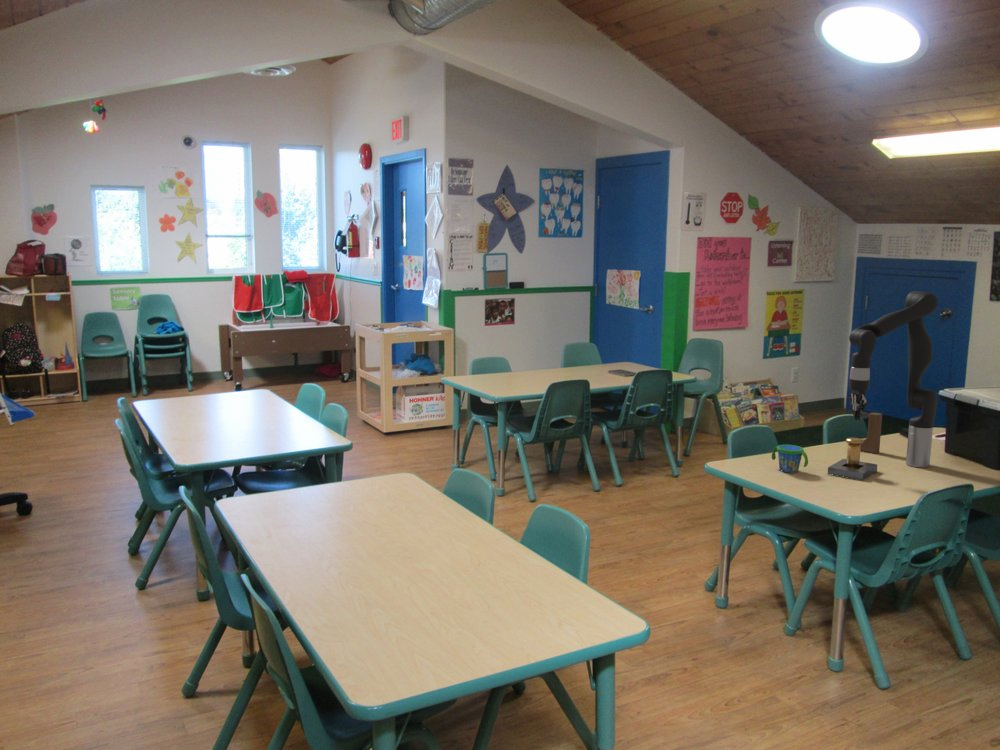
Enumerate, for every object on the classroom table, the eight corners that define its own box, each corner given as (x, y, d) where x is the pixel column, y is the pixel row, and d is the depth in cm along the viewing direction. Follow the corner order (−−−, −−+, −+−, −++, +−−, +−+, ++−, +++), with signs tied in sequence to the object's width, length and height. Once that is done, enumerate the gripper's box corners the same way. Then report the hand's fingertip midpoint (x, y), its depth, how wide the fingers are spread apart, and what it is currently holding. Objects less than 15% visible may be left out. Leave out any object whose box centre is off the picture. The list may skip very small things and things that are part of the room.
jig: (842, 465, 364) (843, 458, 363) (876, 471, 355) (877, 464, 354) (827, 474, 350) (828, 467, 350) (862, 480, 341) (863, 473, 341)
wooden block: (855, 450, 389) (858, 412, 386) (859, 448, 392) (862, 410, 389) (876, 453, 383) (879, 415, 380) (879, 452, 386) (882, 413, 383)
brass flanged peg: (846, 469, 357) (849, 436, 355) (863, 472, 353) (865, 439, 350) (841, 472, 352) (843, 439, 350) (857, 475, 348) (860, 442, 346)
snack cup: (812, 473, 351) (814, 449, 350) (796, 477, 345) (798, 453, 344) (781, 464, 364) (782, 442, 362) (765, 468, 358) (766, 445, 356)
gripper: (876, 380, 339) (873, 422, 342) (860, 375, 352) (857, 415, 355) (858, 380, 339) (855, 423, 342) (843, 375, 352) (840, 416, 355)
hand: (856, 419), depth 349 cm, fingers closed
